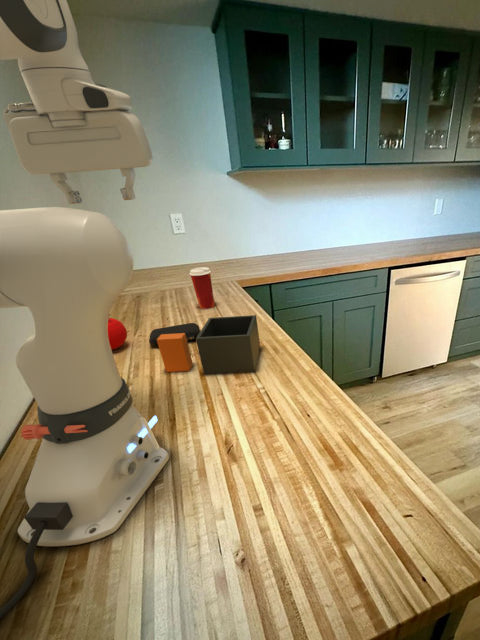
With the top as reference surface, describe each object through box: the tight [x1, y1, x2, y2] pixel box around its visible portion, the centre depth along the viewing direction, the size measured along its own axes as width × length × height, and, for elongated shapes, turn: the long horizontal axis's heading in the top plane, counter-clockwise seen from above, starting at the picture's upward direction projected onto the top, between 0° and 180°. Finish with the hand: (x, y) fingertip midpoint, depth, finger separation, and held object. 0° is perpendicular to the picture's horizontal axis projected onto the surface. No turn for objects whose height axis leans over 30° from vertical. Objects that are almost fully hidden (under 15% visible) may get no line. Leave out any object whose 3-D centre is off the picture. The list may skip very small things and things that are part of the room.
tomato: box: [108, 314, 128, 351], centre depth 97 cm, size 10×10×10 cm
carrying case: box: [148, 322, 201, 347], centre depth 102 cm, size 11×3×15 cm
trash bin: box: [195, 314, 261, 375], centre depth 86 cm, size 14×13×10 cm
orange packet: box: [157, 333, 194, 373], centre depth 84 cm, size 3×6×9 cm, turn 90°
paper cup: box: [189, 266, 215, 310], centre depth 126 cm, size 8×8×14 cm
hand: (103, 201), depth 58 cm, fingers open, 8 cm apart
